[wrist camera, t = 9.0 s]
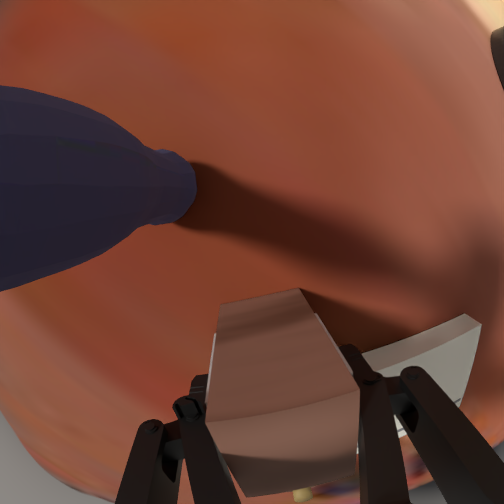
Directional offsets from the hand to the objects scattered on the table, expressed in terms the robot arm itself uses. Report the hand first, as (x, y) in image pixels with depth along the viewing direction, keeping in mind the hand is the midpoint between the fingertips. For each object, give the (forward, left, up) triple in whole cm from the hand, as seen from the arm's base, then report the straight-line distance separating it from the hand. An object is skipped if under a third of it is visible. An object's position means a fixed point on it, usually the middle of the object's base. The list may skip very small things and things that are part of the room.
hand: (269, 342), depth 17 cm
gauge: (+5, 0, -1) cm, 6 cm away
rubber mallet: (-11, -4, -1) cm, 11 cm away
